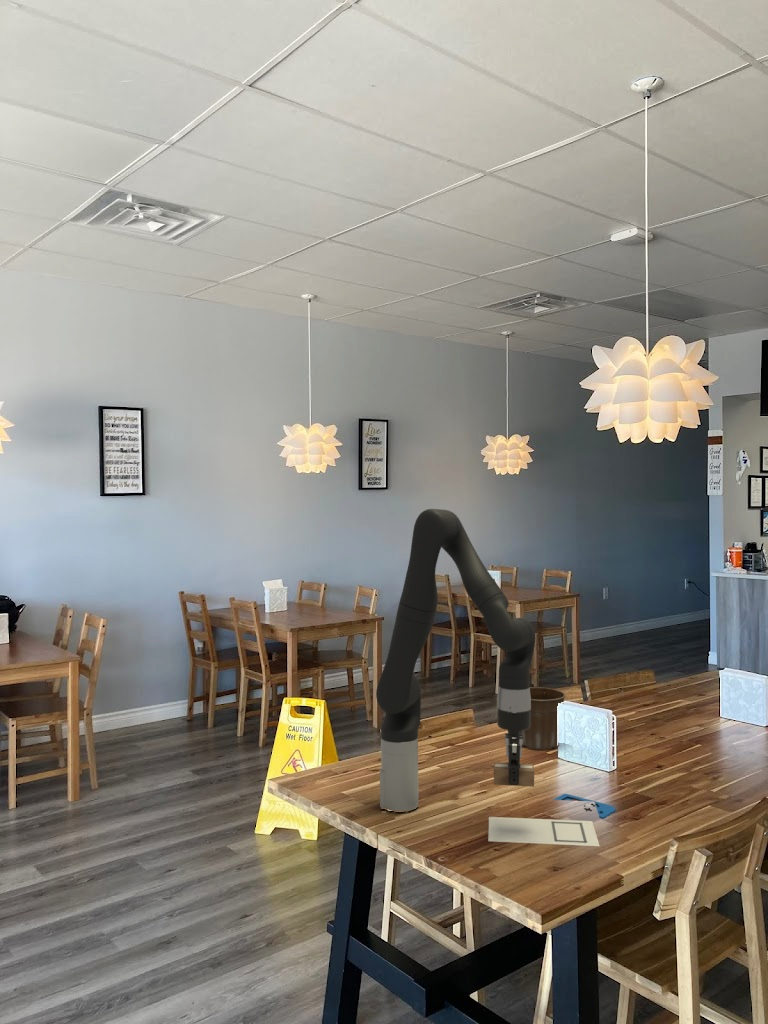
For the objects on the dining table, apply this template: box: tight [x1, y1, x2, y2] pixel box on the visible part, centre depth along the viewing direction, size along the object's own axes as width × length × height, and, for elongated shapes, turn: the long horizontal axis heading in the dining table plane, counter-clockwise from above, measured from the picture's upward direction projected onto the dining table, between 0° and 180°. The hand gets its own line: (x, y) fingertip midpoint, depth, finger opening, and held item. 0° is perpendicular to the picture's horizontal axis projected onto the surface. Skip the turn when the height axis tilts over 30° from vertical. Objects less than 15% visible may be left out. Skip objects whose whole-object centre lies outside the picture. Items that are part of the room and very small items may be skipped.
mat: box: [487, 816, 600, 847], centre depth 185 cm, size 24×14×1 cm, turn 82°
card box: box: [493, 761, 535, 788], centre depth 186 cm, size 9×5×4 cm, turn 82°
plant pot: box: [519, 686, 566, 751], centre depth 253 cm, size 16×16×16 cm
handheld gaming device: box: [552, 793, 616, 820], centre depth 201 cm, size 8×1×15 cm
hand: (513, 780), depth 186 cm, fingers closed on card box, 5 cm apart
